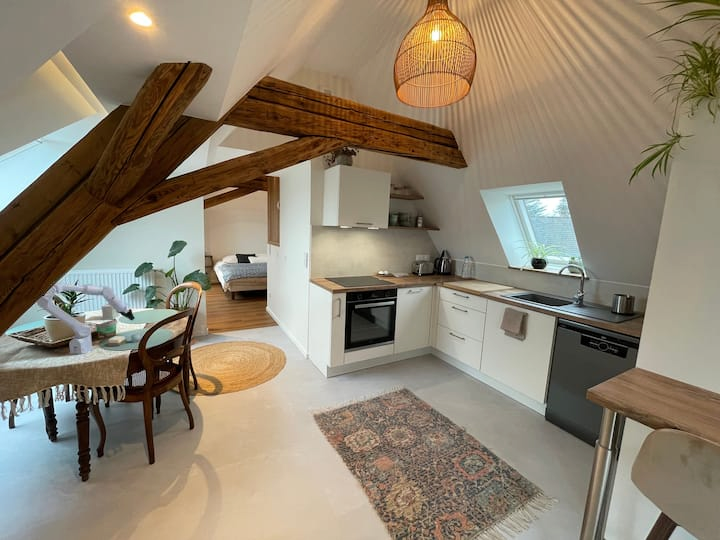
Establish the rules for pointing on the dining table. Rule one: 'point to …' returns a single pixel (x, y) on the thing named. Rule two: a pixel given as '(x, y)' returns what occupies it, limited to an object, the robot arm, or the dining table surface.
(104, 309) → the light bulb box
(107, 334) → the food container
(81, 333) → the robot arm
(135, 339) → the cylinder
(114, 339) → the top block
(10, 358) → the dining table surface
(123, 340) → the base slab
